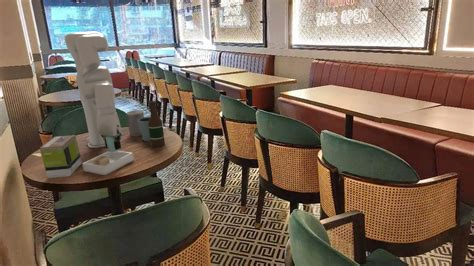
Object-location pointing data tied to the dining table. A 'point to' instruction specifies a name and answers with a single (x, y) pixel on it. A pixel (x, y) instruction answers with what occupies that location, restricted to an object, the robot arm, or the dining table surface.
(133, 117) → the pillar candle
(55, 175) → the tea box
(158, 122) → the beer bottle
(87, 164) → the white tray
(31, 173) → the dining table surface
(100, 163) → the maple cube
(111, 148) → the teal cylinder
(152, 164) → the dining table surface
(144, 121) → the drinking glass
